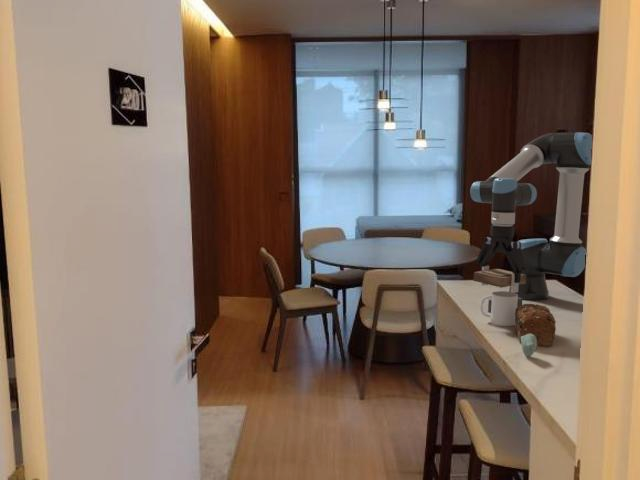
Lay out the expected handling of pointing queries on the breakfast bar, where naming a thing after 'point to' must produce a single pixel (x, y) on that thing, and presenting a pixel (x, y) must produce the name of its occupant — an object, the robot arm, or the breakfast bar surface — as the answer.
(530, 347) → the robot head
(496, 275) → the lid
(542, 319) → the bread
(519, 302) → the block
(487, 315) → the cup
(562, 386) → the breakfast bar surface
